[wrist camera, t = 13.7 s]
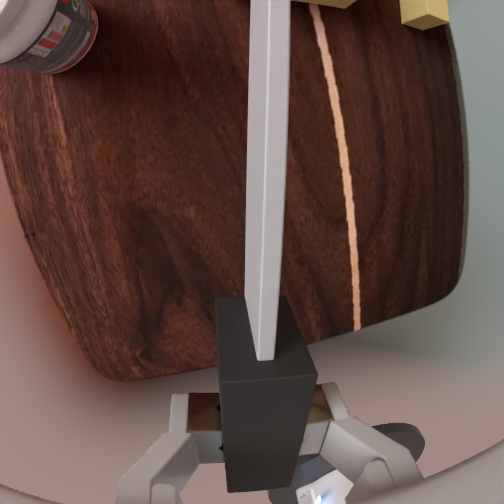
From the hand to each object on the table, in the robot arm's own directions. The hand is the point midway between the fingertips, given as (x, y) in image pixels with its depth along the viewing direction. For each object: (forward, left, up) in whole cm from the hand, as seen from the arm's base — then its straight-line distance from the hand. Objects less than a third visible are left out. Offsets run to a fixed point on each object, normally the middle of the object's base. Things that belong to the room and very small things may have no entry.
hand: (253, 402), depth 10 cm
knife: (+5, 0, -2) cm, 5 cm away
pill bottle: (+16, +11, -14) cm, 24 cm away
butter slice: (+19, -13, -14) cm, 27 cm away
